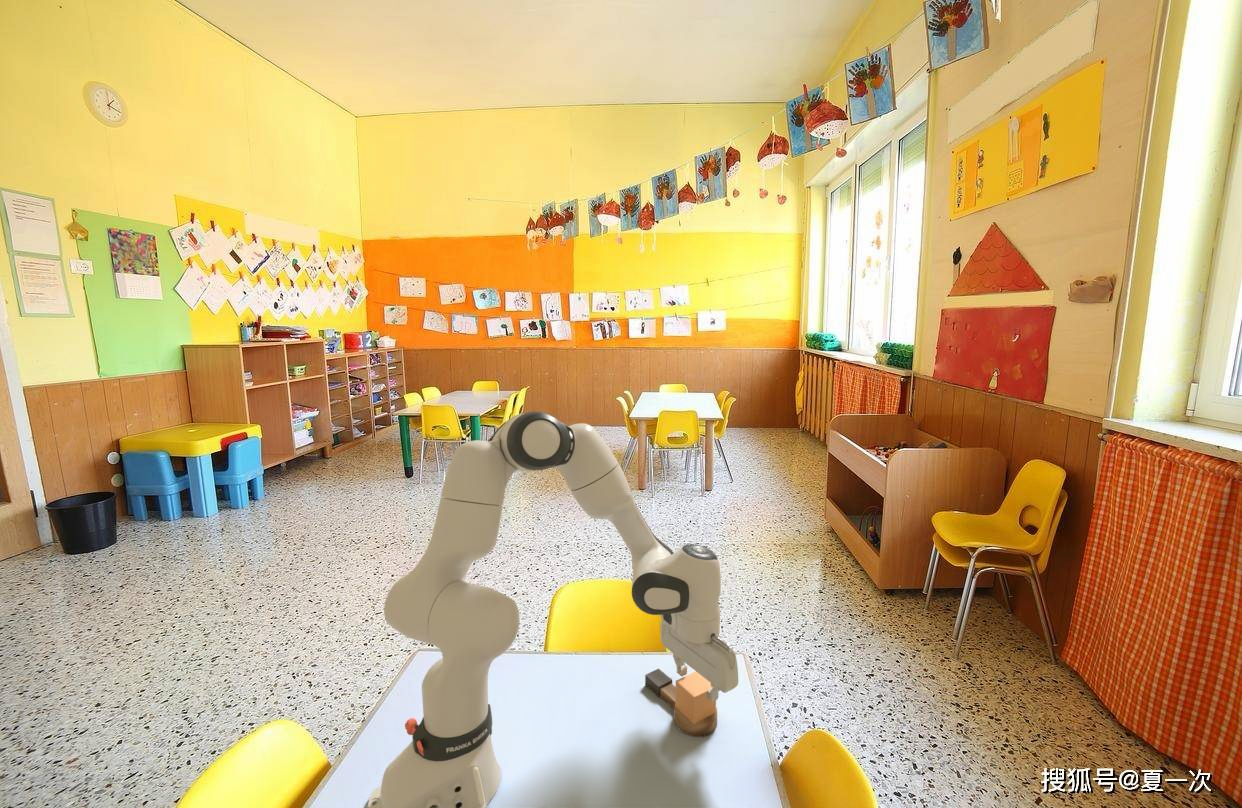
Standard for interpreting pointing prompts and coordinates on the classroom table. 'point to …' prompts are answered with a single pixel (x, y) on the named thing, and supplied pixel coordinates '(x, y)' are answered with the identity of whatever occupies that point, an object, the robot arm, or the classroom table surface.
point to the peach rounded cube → (694, 697)
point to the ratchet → (667, 692)
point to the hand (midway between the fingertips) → (696, 685)
